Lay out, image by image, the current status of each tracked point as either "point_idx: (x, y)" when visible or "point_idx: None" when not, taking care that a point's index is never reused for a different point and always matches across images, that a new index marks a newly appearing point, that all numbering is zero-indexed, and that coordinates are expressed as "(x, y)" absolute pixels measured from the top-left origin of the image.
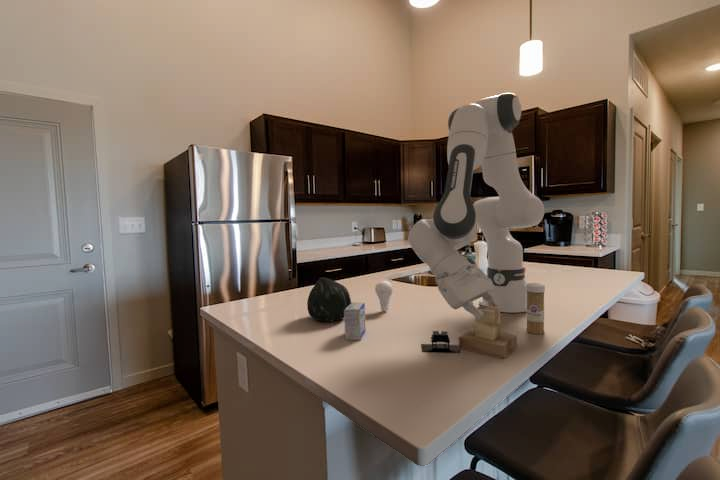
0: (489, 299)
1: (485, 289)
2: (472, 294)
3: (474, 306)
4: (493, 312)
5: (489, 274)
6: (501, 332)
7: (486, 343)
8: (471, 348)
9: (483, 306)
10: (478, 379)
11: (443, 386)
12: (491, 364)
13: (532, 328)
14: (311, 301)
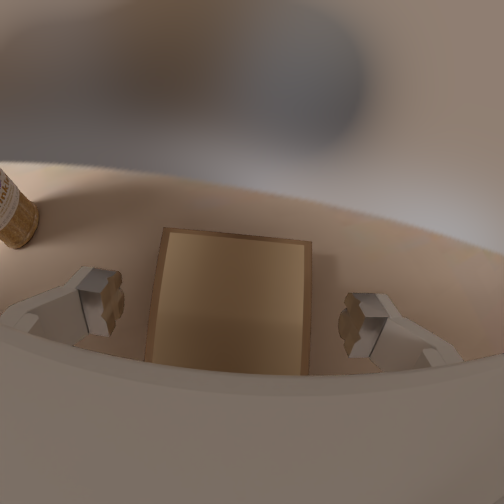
0: (55, 329)
1: (42, 347)
2: (431, 382)
3: (424, 334)
4: (298, 247)
5: None
6: (155, 286)
7: (309, 308)
8: None
9: (191, 351)
10: (440, 277)
11: (489, 322)
12: (358, 278)
13: (28, 221)
14: None
